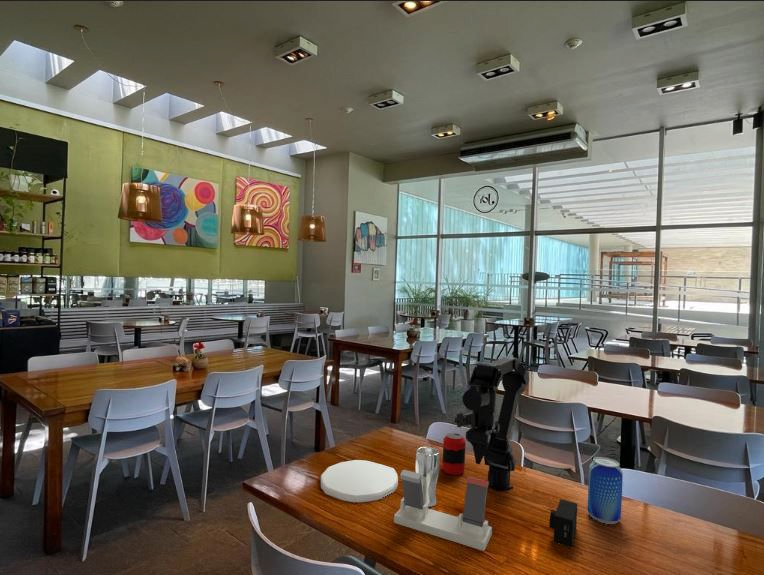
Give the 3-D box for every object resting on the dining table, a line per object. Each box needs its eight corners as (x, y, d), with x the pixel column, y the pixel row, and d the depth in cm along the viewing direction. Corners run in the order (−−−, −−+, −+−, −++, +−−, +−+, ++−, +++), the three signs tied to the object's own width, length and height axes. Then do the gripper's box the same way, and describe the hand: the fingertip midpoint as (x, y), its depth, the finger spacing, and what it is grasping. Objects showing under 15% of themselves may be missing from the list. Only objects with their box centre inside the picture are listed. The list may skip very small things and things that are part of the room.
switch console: (406, 509, 122) (406, 492, 122) (491, 534, 111) (492, 516, 111) (393, 522, 114) (394, 504, 114) (484, 551, 104) (485, 531, 104)
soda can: (467, 469, 150) (469, 435, 150) (459, 477, 144) (460, 441, 144) (447, 464, 154) (449, 430, 154) (438, 471, 148) (440, 436, 148)
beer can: (617, 514, 124) (620, 458, 124) (623, 529, 116) (626, 469, 116) (585, 508, 127) (587, 453, 127) (589, 522, 119) (591, 464, 119)
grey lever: (407, 501, 118) (403, 469, 115) (424, 506, 116) (421, 474, 113) (404, 507, 117) (400, 474, 113) (422, 512, 114) (418, 479, 111)
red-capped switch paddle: (463, 521, 111) (469, 476, 114) (483, 527, 108) (488, 481, 112) (461, 522, 109) (467, 476, 112) (481, 528, 107) (487, 481, 110)
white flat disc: (349, 449, 154) (411, 466, 142) (348, 461, 154) (411, 479, 142) (303, 474, 133) (372, 497, 120) (302, 488, 133) (371, 512, 120)
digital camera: (554, 522, 118) (555, 497, 118) (576, 528, 115) (577, 502, 115) (548, 541, 109) (549, 513, 109) (571, 548, 106) (572, 520, 106)
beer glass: (436, 509, 122) (439, 456, 122) (412, 506, 124) (414, 453, 124) (438, 498, 129) (440, 448, 129) (415, 494, 130) (417, 445, 130)
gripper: (466, 397, 140) (462, 446, 139) (450, 406, 123) (445, 461, 122) (501, 403, 135) (498, 454, 134) (489, 413, 118) (485, 471, 117)
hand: (481, 459), depth 127 cm, fingers open, 9 cm apart
